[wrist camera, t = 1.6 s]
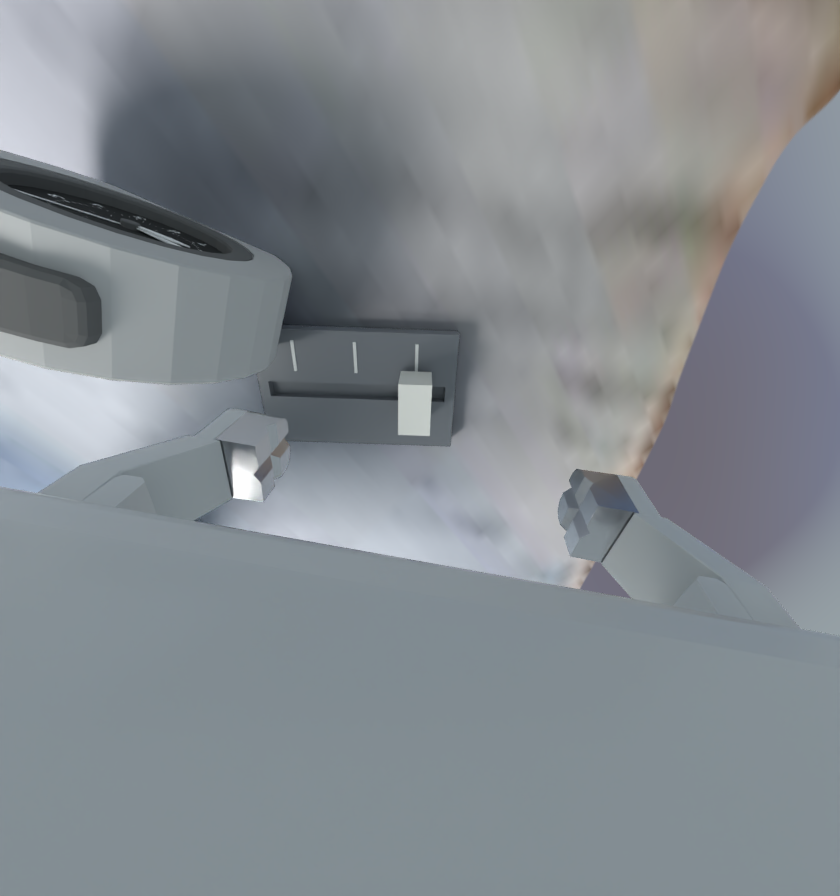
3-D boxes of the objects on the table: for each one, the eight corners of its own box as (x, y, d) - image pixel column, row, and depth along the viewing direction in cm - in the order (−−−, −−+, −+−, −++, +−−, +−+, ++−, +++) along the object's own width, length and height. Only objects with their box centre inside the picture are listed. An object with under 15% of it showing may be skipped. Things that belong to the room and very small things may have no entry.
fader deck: (449, 438, 41) (450, 446, 39) (276, 432, 41) (269, 440, 39) (457, 330, 35) (459, 335, 34) (256, 323, 35) (247, 327, 33)
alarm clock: (315, 272, 33) (197, 295, 16) (297, 346, 37) (183, 431, 19) (67, 164, 30) (-434, 43, 12) (72, 258, 33) (-315, 265, 16)
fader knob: (429, 414, 38) (429, 435, 34) (401, 413, 38) (398, 434, 34) (431, 368, 36) (432, 385, 31) (401, 367, 36) (398, 384, 31)
